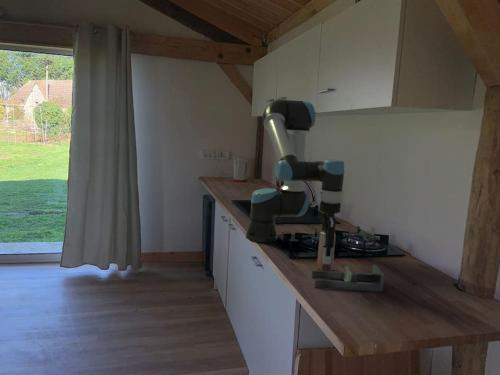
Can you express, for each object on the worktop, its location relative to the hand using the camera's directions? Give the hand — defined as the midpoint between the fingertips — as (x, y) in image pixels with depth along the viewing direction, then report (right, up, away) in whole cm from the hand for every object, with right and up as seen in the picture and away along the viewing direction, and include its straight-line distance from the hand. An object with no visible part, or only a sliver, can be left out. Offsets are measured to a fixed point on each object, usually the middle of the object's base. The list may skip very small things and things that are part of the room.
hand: (325, 260), depth 153 cm
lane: (+4, -6, -11) cm, 14 cm away
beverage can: (0, -4, +1) cm, 4 cm away
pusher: (+7, -6, -11) cm, 14 cm away
